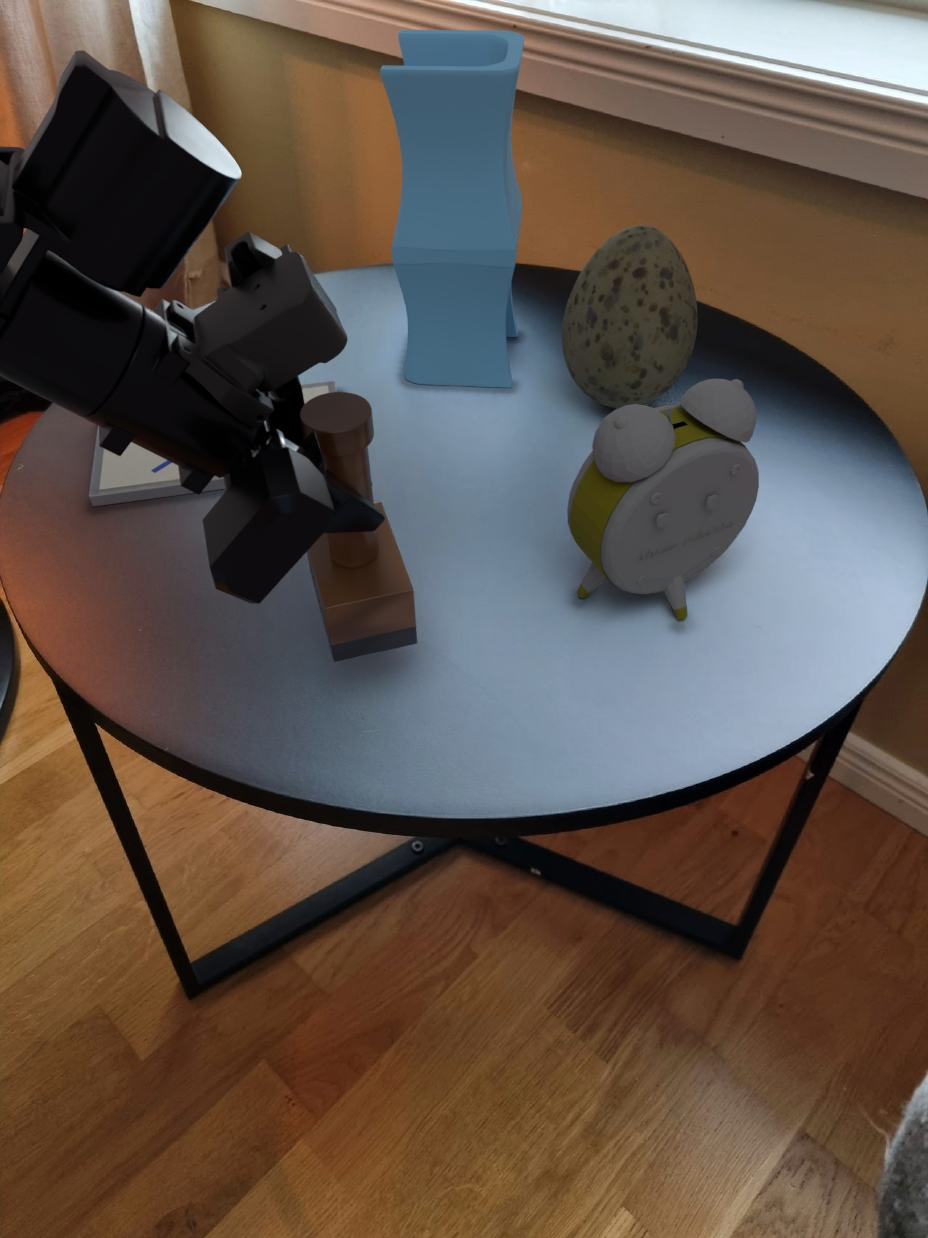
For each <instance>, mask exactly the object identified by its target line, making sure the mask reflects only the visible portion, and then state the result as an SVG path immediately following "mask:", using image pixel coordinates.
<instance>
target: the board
mask: <svg viewBox="0 0 928 1238" xmlns="http://www.w3.org/2000/svg"><path fill="white" fill-rule="evenodd" d="M301 386H302V391H303V397H304V403H306V402H308V401H309V400H311V399H312V398H314V397H316V396H319V395H322V394H326V393H331V392H338V389H337V383H336V380H329V381H320V382H313V383H303V384H301ZM89 483H90V484H89V493H88V499H89V501H90V503H91V505H92V507H100V506H102V507H103V506H107V505H116V504H124V503H131V502H138V501H145V500H153V499H161V498H167V497H175V496H181V495H183V496H184V495H189V494H190V495H191V494H195V493H194V492H192V491H190V490H188V489H186V488H184V487H182V486H181V484H180V476H179V468H178V465H176V464H174V463H172V462H170V461H168V460H166V459H164V458H162V457H160V456H158V455H156V454H154V453H152V452H150V451H148V450H146V449H144V448H142V447H140V446H138V445H136V444H134V443H132V442H131V443H130V444H129V446H128V447H127V448H126V450H125V451H124V452H123V454H122V455H121V456H118V455H116V454H114V453H112V452H110V451H108V450H106V449H104V448H102V447H100V446H99V426H98V425H97V431H96V437H95V447H94V453H93V462H92V469H91V476H90V482H89ZM218 490H225V485H224V479H223V477H222V478H218V477H216V476H214V477H213V478H212V480H211V481H210V482H209V483H208V485H207V486H206V487H205V488H204V490H203V491H202V492H201V493H204V492H212V491H218Z"/></svg>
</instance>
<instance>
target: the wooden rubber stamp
mask: <svg viewBox="0 0 928 1238" xmlns="http://www.w3.org/2000/svg"><path fill="white" fill-rule="evenodd" d="M373 417H374V416H373V409H372V405H371V404H370V402H369V401H368V400H367V398H365V397H363V396H361V395H359V394H358V393H353V392H347V391H337V392H331V393H326V394H322V395H319V396H316V397H314V398H312V399H311V400H309V401H308V402H306V403H305V404H304V406H303V407H302V409H301V411H300V420H301V426H302V432H303V438H304V440H305V439H306V438H307V437H308V435H309V434H310V433H311V432H312V431H313V430H314V431H315V432H316V434H317V437H318V440H319V443H320V447H321V450H322V453H323V456H324V459H325V463H326V469H328V470H329V471H330V472H332V473H333V474H334V475H335V476H337V477H338V478H339V479H341V480H342V481H343V482H345V483H346V484H347V485H349V486H350V487H351V488H352V489H354V490H355V491H356V492H358V493H359V494H360V495H362V496H363V497H364V498H366V499H367V500H368V501H369V502H370V503H372V504H373V505H374V506H375V507H376V508H377V509H379V510H380V511H381V512H382V513H383V514H384V517H385V520H384V522H383V523H382V524H381V525H380V526H379V527H378V528H377V529H376V530H375V531H372V532H345V533H323V534H322V536H321V537H320V538H319V539H318V540H317V541H316V542H315V543H314V544H313V546H312V547H311V548H310V549H309V550H308V551H307V552H306V557H307V562H308V568H309V573H310V577H311V580H312V583H313V588H314V591H315V596H316V599H317V603H318V607H319V612H320V614H321V618H322V622H323V625H324V630H325V633H326V638H327V642H328V645H329V650H330V654H331V657H332V660H333V662H334V663H337V662H343V661H346V660H351V659H355V658H359V657H360V658H361V657H365V656H369V655H373V654H378V653H382V652H387V651H390V650H395V649H401V648H404V647H408V646H414V645H417V644H418V633H417V619H416V605H415V592H414V591H415V590H414V587H413V585H412V582H411V578H410V576H409V573H408V571H407V567H406V566H405V562H404V560H403V557H402V554H401V551H400V549H399V545H398V543H397V541H396V538H395V535H394V533H393V530H392V528H391V524H390V522H389V519H388V516H387V513H386V510H385V507H384V505H383V503H382V501H379V502H375V500H374V493H373V482H371V481H372V473H371V465H370V455H369V445H371V443H372V441H373V439H374V437H375V429H374V418H373Z"/></svg>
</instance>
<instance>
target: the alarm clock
mask: <svg viewBox="0 0 928 1238" xmlns="http://www.w3.org/2000/svg"><path fill="white" fill-rule="evenodd" d="M744 386H745V385H744V382H743V381H742V380H740V379H737V378H735V379H732V380H729V379H725V378H710V379H705V380H701V381H699V382H697V383H695V384H693V385H692V386H691V387H689V388H688V389H687V390H686V391H685V392H684V393H683V395H682V396H681V397H680V399H678V402H679V404H665V405H661V406H656V407H652V406H649V405H646V404H645V405H638V404H633V405H626V406H623V407H621V408H618V409H616V408H615V409H614V410H613V411H611V412H610V413H609V414H607V415H606V416H605V417H604V418H603V419H602V420H601V422H599V424H598V426H597V428H596V430H595V433H594V437H593V441H592V445H591V447H592V448H591V449H592V450H591V452H590V453H589V454H588V455H587V458H586V459H585V460H584V462H583V463H582V465H581V467H580V469H579V471H578V472H577V474H576V477H575V479H574V481H573V482H572V485H571V488H570V491H569V495H568V502H567V509H566V512H567V513H566V514H567V525H568V528H569V532H570V534H571V536H572V539H573V540H574V542H575V544H576V545H577V546H578V548H579V549H580V550H581V551H582V552H583V553H584V554H585V556H586V557H587V558H588V559H589V560H590V562H591V564H590V566H589V567H588V569H587V571H586V573H585V575H584V577H583V578H582V581H581V583H580V585H579V586H578V589H577V591H576V595H577V596H578V597H579V598H580V599H586V598H587V597H588V596H589V595H590V594H591V593H593V591H595V590H596V589H597V588H598V587H599V586H601V584H603V583H604V582H605V581H606V580H607V581H609V582H610V583H611V584H613V585H614V586H616V587H617V588H618V589H620V590H622V591H624V592H628V593H631V594H639V595H649V594H654V593H662V592H663V593H664V594H665V596H666V599H667V600H668V602H669V604H670V606H671V608H672V611H673V613H674V615H675V617H676V618H677V619H678V620H684V619H687V618H688V605H687V599H686V598H687V597H686V585H685V583H686V582H689V581H690V580H691V579H694V578H695V577H697V576H698V575H700V574H701V573H703V572H704V571H705V570H706V569H707V568H708V567H710V566H711V565H712V564H713V563H714V562H716V561H717V560H718V559H719V558H720V557H721V556H722V555H724V554H725V552H726V551H728V549H729V548H730V547H731V545H732V544H733V543H734V541H735V540H736V539H737V537H738V536H740V533H741V532H742V531H743V530H744V528H745V526H746V525H747V522H748V520H749V518H750V516H751V514H752V512H753V510H754V507H755V505H756V502H757V499H758V491H759V488H760V478H759V477H760V476H759V475H760V473H759V467H758V464H757V462H756V459H755V457H754V456H753V454H752V453H751V451H750V450H749V449H748V448H747V446H746V445H745V444H744V443H746V444H747V443H748V442H750V440H751V439H752V437H753V436H754V431H755V428H756V423H757V419H758V417H757V411H756V406H755V402H754V399H753V398H752V397H751V395H750V394H749V393H748V391H747V390H746V389H745V388H744Z"/></svg>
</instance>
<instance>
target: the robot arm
mask: <svg viewBox="0 0 928 1238" xmlns="http://www.w3.org/2000/svg"><path fill="white" fill-rule="evenodd" d="M52 101H53V102H52V104H51V105H50V107H49V109H48V110H47V112H46V114H45V115H44V117H43V119H42V120H41V122H40V124H39V126H38V128H37V129H36V131H35V132H34V134H33V136H32V137H31V139H30V141H29V143H28V145H27V147H26V148H24V147H23V148H22V147H20V146H2V145H1V146H0V377H1V378H3V379H5V380H7V381H9V382H10V383H13V384H15V385H17V386H19V387H21V388H23V389H25V390H26V391H29V392H31V393H33V394H34V395H37V396H38V397H41V398H42V399H45V400H46V401H49V402H51V403H53V404H54V405H56V406H58V407H60V408H63V409H64V410H67V411H68V412H70V413H72V414H75V415H76V416H79V417H80V418H82V419H84V420H86V421H88V422H90V423H92V424H94V425H96V426H97V427H98V426H99V446H100V447H102V448H104V449H106V450H108V451H110V452H112V453H114V454H116V455H118V456H121V455H122V454H123V452H124V451H125V450H126V448H127V447H128V446H129V444H130V443H131V442H132V443H134V444H136V445H138V446H140V447H142V448H144V449H146V450H148V451H150V452H152V453H154V454H156V455H158V456H160V457H162V458H164V459H166V460H168V461H170V462H172V463H174V464H176V465H178V468H179V476H180V484H181V486H182V487H184V488H186V489H188V490H190V491H192V492H194V493H193V494H197V495H200V494H201V493H203V492H202V491H203V490H204V488H205V487H206V486H207V485H208V483H209V482H210V481H211V480H212V478H213V477H214V476H216V477H218V478H222V477H223V479H224V485H225V489H224V490H225V492H224V493H223V494H222V495H221V497H220V498H219V499H218V500H217V501H216V502H215V504H214V505H213V506H212V507H211V509H209V511H208V512H207V514H206V515H205V516H204V517H203V518H202V525H203V533H204V539H205V546H206V552H207V559H208V566H209V570H210V573H211V574H210V575H211V577H212V580H213V583H214V587H215V590H217V591H220V592H222V593H225V594H226V595H229V596H232V597H234V598H236V599H239V600H241V601H244V602H246V603H248V604H253V605H254V604H255V605H260V604H261V603H262V602H263V601H264V600H265V599H266V598H267V596H268V595H269V594H270V593H271V592H272V591H273V590H274V589H275V588H276V586H278V585H279V583H280V582H281V581H282V580H283V579H284V578H285V577H286V576H287V574H288V573H289V572H290V571H291V570H292V569H293V568H294V567H295V566H296V565H297V563H298V562H299V561H300V560H302V558H303V557H304V556H305V554H307V551H308V550H309V549H310V548H311V547H312V546H313V544H314V543H315V542H316V541H317V540H318V539H319V538H320V537H321V536H322V534H323V533H345V532H372V531H375V530H376V529H377V528H378V527H379V526H380V525H381V524H382V523H383V522H384V520H385V517H384V514H383V513H382V512H381V511H380V510H379V509H377V508H376V507H375V506H374V505H373V504H372V503H370V502H369V501H368V500H367V499H366V498H364V497H363V496H362V495H360V494H359V493H358V492H356V491H355V490H354V489H352V488H351V487H350V486H349V485H347V484H346V483H345V482H343V481H342V480H341V479H339V478H338V477H337V476H335V475H334V474H333V473H332V472H330V471H329V470H328V469H326V463H325V459H324V456H323V453H322V450H321V447H320V443H319V440H318V437H317V434H316V432H315V431H314V430H313V431H312V432H311V433H310V434H309V435H308V437H307V438H306V439H305V440H304V438H303V432H302V426H301V420H300V411H301V409H302V407H303V406H304V404H305V403H304V397H303V391H302V386H301V385H302V384H301V380H300V378H299V376H300V375H302V374H304V373H305V372H307V371H308V370H311V369H312V368H313V367H315V366H317V365H318V364H327V363H329V362H330V361H332V360H333V359H335V358H336V357H338V356H339V355H340V354H341V353H342V352H343V351H344V349H345V348H346V346H347V344H348V334H347V331H346V330H345V329H344V327H343V323H342V322H341V319H340V317H339V315H338V313H337V312H338V310H337V307H336V306H335V304H334V302H333V301H332V300H331V298H330V297H329V295H328V294H327V292H326V291H325V289H324V288H323V286H322V284H321V283H320V282H319V280H318V278H317V277H316V275H315V274H314V273H313V271H312V269H311V268H310V267H309V265H308V262H307V260H306V259H305V256H303V255H301V254H300V252H298V251H293V250H292V249H291V247H290V246H289V244H285V245H283V246H281V247H280V248H278V247H277V246H275V245H273V244H271V243H269V242H268V241H266V240H265V239H262V238H261V237H259V236H257V235H255V234H253V233H252V232H250V231H247V232H245V233H244V234H242V235H240V236H238V237H237V238H236V239H234V240H233V241H231V242H230V243H228V244H226V245H225V247H224V248H223V251H224V256H225V261H226V262H225V263H226V269H227V274H228V279H229V283H230V288H228V289H226V287H225V285H221V286H220V287H218V288H216V294H217V295H216V296H217V298H216V299H215V301H214V302H212V303H211V304H209V305H207V306H206V307H205V308H204V309H202V310H201V311H200V312H197V311H195V310H193V309H192V308H189V307H188V306H186V305H185V304H183V303H181V302H180V301H178V300H176V299H172V300H171V301H170V302H169V301H167V300H165V299H164V298H161V299H160V301H159V302H158V304H157V305H156V307H155V308H154V309H151V308H150V307H148V306H146V305H144V304H143V303H142V302H140V301H138V300H137V299H135V298H133V297H131V296H134V297H138V298H141V297H142V296H143V294H144V293H145V291H146V290H147V289H155V290H157V289H158V290H160V289H162V288H164V287H166V285H167V284H168V282H169V281H170V279H171V278H172V277H173V275H174V274H175V272H176V271H177V270H178V268H179V267H180V266H181V264H182V262H183V261H184V260H185V258H187V256H188V254H189V252H191V250H192V248H193V246H195V244H196V243H197V241H198V240H199V238H200V237H201V235H202V234H203V233H204V231H205V230H206V229H207V227H208V226H209V224H210V222H212V220H213V218H214V217H215V215H217V213H218V211H219V210H220V208H221V207H222V206H223V204H224V203H225V201H226V200H227V198H228V197H229V195H231V193H232V191H233V190H234V189H235V187H236V186H237V184H238V183H239V182H240V180H241V178H242V176H243V174H242V170H241V168H240V166H239V164H238V163H237V161H236V160H235V159H234V157H233V155H231V154H230V152H229V151H228V149H227V148H226V147H225V146H224V145H223V144H222V143H221V142H220V141H219V140H218V138H216V136H215V135H214V134H213V133H211V131H210V130H209V129H207V127H206V126H204V125H203V124H202V123H201V122H200V121H199V120H198V119H197V118H196V117H194V115H193V114H191V113H190V112H189V111H188V110H186V109H185V108H184V107H183V106H181V105H180V104H179V102H177V101H176V100H175V99H173V98H172V97H170V96H169V95H168V94H166V93H165V92H164V91H163V90H161V89H157V91H156V92H155V91H154V90H152V89H151V88H149V87H148V86H146V85H145V84H144V83H142V82H140V81H139V80H137V79H136V78H133V77H131V76H129V75H128V74H126V73H123V72H121V71H119V70H115V69H109V68H107V67H106V66H105V65H104V64H102V63H101V62H100V61H98V60H97V59H96V58H94V57H93V56H92V55H91V54H89V53H88V52H87V51H85V50H76V51H74V53H73V55H72V56H71V58H70V60H69V62H68V63H67V65H66V67H65V69H64V70H63V72H62V73H61V76H60V79H59V81H58V86H57V90H56V93H55V96H54V99H53V100H52ZM24 230H25V231H24ZM371 482H372V480H371ZM372 483H373V482H372Z"/></svg>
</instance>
